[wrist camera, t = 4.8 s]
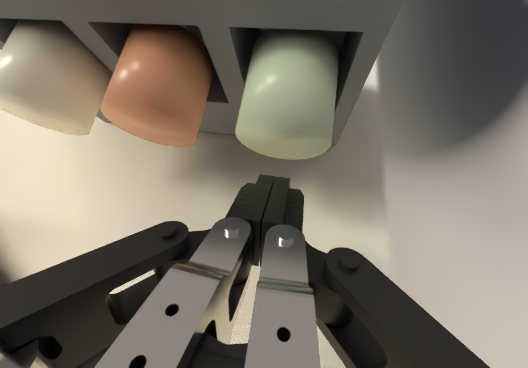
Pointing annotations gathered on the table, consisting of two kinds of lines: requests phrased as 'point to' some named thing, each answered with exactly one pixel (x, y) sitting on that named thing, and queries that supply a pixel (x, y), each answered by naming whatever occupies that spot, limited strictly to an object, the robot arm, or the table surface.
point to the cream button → (51, 77)
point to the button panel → (225, 38)
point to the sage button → (290, 94)
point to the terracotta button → (160, 85)
